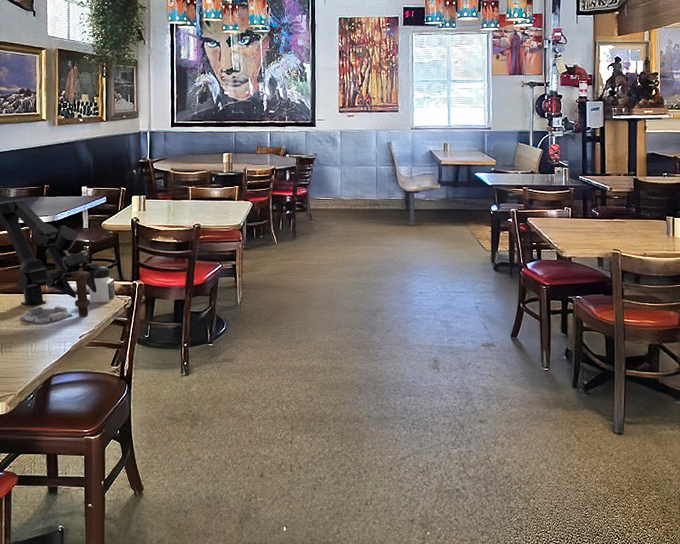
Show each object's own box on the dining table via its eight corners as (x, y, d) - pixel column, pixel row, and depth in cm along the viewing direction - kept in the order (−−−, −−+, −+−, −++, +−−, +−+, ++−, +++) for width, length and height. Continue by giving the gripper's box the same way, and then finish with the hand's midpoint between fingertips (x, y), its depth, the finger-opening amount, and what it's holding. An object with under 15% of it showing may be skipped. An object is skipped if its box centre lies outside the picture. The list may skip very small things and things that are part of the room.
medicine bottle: (109, 302, 290) (107, 269, 287) (90, 302, 290) (87, 270, 288) (115, 297, 297) (112, 265, 294) (96, 297, 297) (93, 265, 294)
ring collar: (17, 319, 271) (16, 313, 270) (51, 310, 281) (50, 304, 281) (41, 325, 263) (40, 319, 263) (75, 315, 274) (74, 309, 273)
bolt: (86, 318, 270) (82, 275, 267) (72, 317, 271) (69, 274, 268) (94, 313, 276) (91, 271, 272) (81, 313, 277) (77, 270, 273)
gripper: (47, 248, 263) (71, 286, 259) (94, 239, 277) (117, 274, 274) (35, 269, 269) (58, 306, 265) (81, 259, 284) (104, 294, 280)
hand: (85, 294), depth 271 cm, fingers open, 8 cm apart
